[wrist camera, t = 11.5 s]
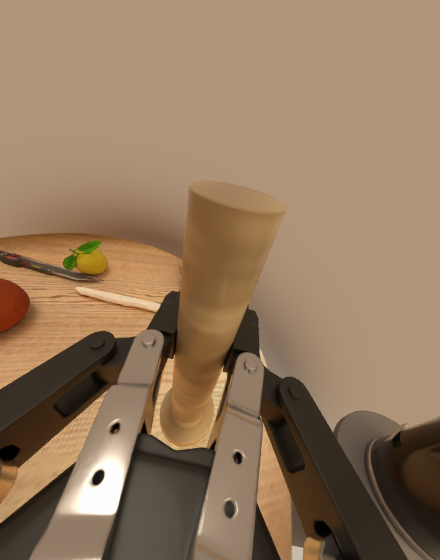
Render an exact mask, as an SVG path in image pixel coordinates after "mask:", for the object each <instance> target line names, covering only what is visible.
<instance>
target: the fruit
mask: <svg viewBox="0 0 440 560" xmlns="http://www.w3.org/2000/svg"><path fill="white" fill-rule="evenodd" d="M29 305H30V299H29V297H28V295H27V293H26V292H25V291H24V290H23V289H22V288H21V287H19V286H18V285H17V284H15V283H13V282H11V281H8V280H5V279H0V332H3V331H5V330H7V329H9V328H10V327H12V326H14V325H15V324H16V323H17V322H18V321H19V320H21V319H22V318H23V317H24V315H25V314H26V312H27V310H28V307H29Z"/></svg>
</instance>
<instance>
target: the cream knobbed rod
mask: <svg viewBox="0 0 440 560" xmlns="http://www.w3.org/2000/svg"><path fill="white" fill-rule="evenodd" d="M75 290H76V291H77V292H79V293H80V294H83V295H86V296H90V297H94V298H98V299H101V300H104V301H107V302H112V303H117V304H121V305H125V306H133V307H139V308H142V309H146V310H150V311H154V312H157V311H158V309H159V308H160V305H161V304H158V303H155V302H151V301H147V300H142V299H138V298H133V297H129V296H124V295H119V294H114V293H109V292H104V291H99V290H94V289H90V288H87V287H76V288H75Z"/></svg>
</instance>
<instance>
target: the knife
mask: <svg viewBox="0 0 440 560" xmlns="http://www.w3.org/2000/svg"><path fill="white" fill-rule="evenodd" d="M0 260H1V261H2V262H3V263H6V264H9V265H12V266H15V267H22V266H25V267H28V268H31V269H35V270H38V271H41V272H45V273H48V274H57V275H60V276H63V277H67V278H70V279H74V280H95V281H104V280H101V279H98V278H94V277H91V276H88V275H84V274H81V273H78V272H74V271H71V270H67V269H64V268H61V267H58V266H54V265H51V264H48V263H44V262H41V261H38V260H37V261H36V260H33V259H30V258H27V257H25V256H21V255H16V254H15V253H7V252H4V251H0Z"/></svg>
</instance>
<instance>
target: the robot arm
mask: <svg viewBox="0 0 440 560" xmlns="http://www.w3.org/2000/svg"><path fill="white" fill-rule="evenodd" d="M179 299H180V291H179V292H175V291H172V292H170V293H169V294H168V295H166V297H165V298H164V300H163V302H162V304H161V305H160V308H159V309H158V311H157V312H156V314H155V316H154V317H153V319H152V321H151V323H150V324H149V326H148V328H147V329H146V330H145V331H142V332H141V333H139V334H138V335H137V336H135V337H130V338H115V337H114V335H113V334H111V333H110V332H106V331H99V332H95V333H92V334H90V335H88V336H87V337H85V338H84V339H82V340H80V341H79V342H77V343H75V344H74V345H72V346H71V347H69V348H67V349H66V350H64V351H62V352H61V353H59V354H57V355H56V356H54V357H53V358H51V359H49V360H48V361H46V362H44V363H43V364H41V365H39V366H38V367H36V368H35V369H33V370H31V371H30V372H28V373H26V374H25V375H23V376H21V377H20V378H18V379H17V380H15V381H13V382H12V383H10V384H8V385H7V386H5V387H4V388H2V389H0V503H1V502H2V501H3V500H4V498H5V497H6V496H7V495H8V493H9V492H10V490H11V488H12V486H13V485H14V482H15V480H16V477H17V471H18V468H19V467H20V466H21V465H22V464H24V463H25V462H26V461H27V460H28V459H29V458H30V457H32V456H33V455H34V454H35V453H36V452H37V451H38V450H39V449H41V448H42V447H43V446H44V445H45V444H46V443H47V442H49V441H50V440H51V439H52V438H53V437H54V436H55V435H57V434H58V433H59V432H60V431H61V430H62V429H63V428H64V427H66V426H67V425H68V424H69V423H70V422H71V421H72V420H74V419H75V418H76V417H77V416H78V415H79V414H80V413H82V412H83V411H84V410H85V409H86V408H87V407H88V406H90V405H91V404H92V403H93V402H94V401H95V400H96V399H97V398H99V397H100V396H101V395H102V394H103V393H104V392H105V391H107V390H108V391H107V393H106V395H105V398H104V400H103V402H102V405H101V407H100V409H99V412H98V414H97V416H96V418H95V421H94V423H93V425H92V428H91V430H90V432H89V434H88V437H87V439H86V441H85V444H84V446H83V448H82V451H81V453H80V455H79V457H78V460H77V461H76V462H75V463H74V464H72V465H71V466H70V467H69V468H68V469H66V470H65V471H64V472H63V473H61V474H60V475H59V476H58V477H57V478H55V479H54V480H53V481H52V482H50V483H49V484H48V485H47V486H46V487H44V488H43V489H42V490H41V491H39V492H38V493H37V494H36V495H35V496H33V497H32V498H31V499H30V500H28V501H27V502H26V503H25V504H24V505H22V506H21V507H20V508H19V509H17V510H16V511H15V512H14V513H13V514H11V515H10V516H9V517H8V518H6V519H5V520H4V521H3V522H2V523H0V560H281V559H280V557H279V554H278V552H277V550H276V547H275V545H274V542H273V540H272V538H271V535H270V533H269V531H268V528H267V526H266V523H265V521H264V519H263V516H262V514H261V511H260V509H259V507H258V504H257V491H258V479H259V468H260V456H261V444H262V433H263V423H264V426H265V428H266V431H267V434H268V436H269V439H270V442H271V444H272V447H273V450H274V452H275V455H276V457H277V460H278V463H279V465H280V468H281V471H282V473H283V476H284V478H285V481H286V484H287V486H288V489H289V492H290V494H291V497H292V499H293V502H294V505H295V507H296V510H297V513H298V515H299V518H300V520H301V523H302V526H303V528H304V531H305V534H306V536H307V539H306V541H305V544H304V549H303V560H408V559H407V557H406V555H405V554H404V552H403V550H402V548H401V547H400V545H399V543H398V542H397V540H396V538H395V537H394V535H393V533H392V532H391V530H390V528H389V527H388V525H387V523H386V521H385V520H384V518H383V516H382V515H381V513H380V511H379V510H378V508H377V506H376V505H375V503H374V501H373V500H372V498H371V496H370V495H369V493H368V491H367V489H366V488H365V486H364V484H363V483H362V481H361V479H360V478H359V476H358V474H357V473H356V471H355V469H354V468H353V466H352V464H351V462H350V461H349V459H348V457H347V456H346V454H345V452H344V451H343V449H342V447H341V446H340V444H339V442H338V441H337V439H336V437H335V436H334V434H333V432H332V431H331V429H330V427H329V425H328V424H327V422H326V420H325V419H324V417H323V415H322V414H321V412H320V410H319V409H318V407H317V405H316V403H315V402H314V400H313V398H312V397H311V395H310V393H309V392H308V390H307V389H306V387H305V386H304V385H303V383H302V382H300V381H299V380H298V379H296V378H294V377H285V378H283V379H282V378H280V377H279V376H277V375H275V374H273V373H272V372H270V371H269V370H268V369H267V368H266V367H265V366H264V365H263V363H262V361H261V359H260V354H259V332H258V331H259V328H258V317H257V315H256V312H255V311H253V310H249V309H248V306H247V309H246V311H245V314H244V316H243V319H242V321H241V324H240V326H239V329H238V331H237V333H236V336H235V338H234V341H233V343H232V346H231V348H230V351H229V353H228V356H227V358H226V361H225V363H224V368H223V372H227V381H226V383H225V386H224V390H223V393H222V397H221V401H220V405H219V408H218V412H217V416H216V419H215V423H214V426H213V429H212V432H211V435H210V438H209V441H208V445H207V448H203V447H202V448H194V449H185V450H174V449H172V448H170V447H169V446H167V445H166V444H165V443H163V442H162V441H160V440H159V439H157V438H156V437H154V436H153V435H150V433H151V428H152V423H153V417H154V410H155V405H156V401H157V397H158V392H159V388H160V384H161V379H162V375H163V371H164V367H165V364H166V362H167V359H168V358H170V359H173V357H174V354H175V348H176V336H177V323H178V311H179ZM260 416H261V418H262V420H261V418H260ZM262 421H263V423H262ZM406 424H407V423H406ZM406 424H403V425H400V426H399V427H398V428H397V429H396V430H395V431H394V432H393V433H391V434H389V435H386V436H380V437H377V438H375V439H372V440H371V441H370V442H369V443H368V444H367V446H366V448H365V453H364V462H365V469H366V474H367V477H368V480H369V483H370V486H371V488H372V491H373V493H374V495H375V497H376V499H377V501H378V503H379V505H380V507H381V509H382V511H383V512H384V514H385V515H386V517H387V519H388V520H389V522H390V523H391V524H392V526H393V527H394V529H395V530H396V531H397V533H398V534H399V535H400V536H401V537H402V539H403V540H404V541H405V542H406V543H407V544H408V545H409V546H410V547H411V548H412V549H413V550H414V551H415V552H416V553H417V554H418V555H419V556H420V557H422V558H423V559H424V560H440V416H438V417H436V418H433V419H430V420H427V421H425V422H422V423H420V424H416V425H414V426H411V427H408V428H405V429H403V430H401V429H402V428H403V427H404V426H405V425H406ZM113 433H114V434H113Z"/></svg>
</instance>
